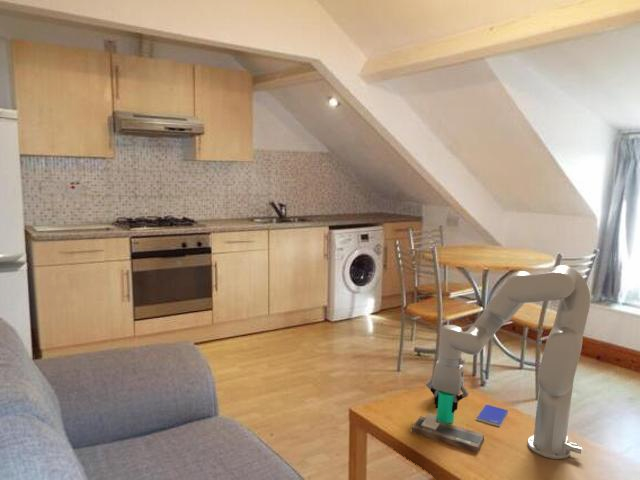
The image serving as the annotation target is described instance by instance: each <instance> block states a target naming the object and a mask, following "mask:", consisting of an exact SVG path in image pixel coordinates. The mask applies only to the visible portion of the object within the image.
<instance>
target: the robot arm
mask: <svg viewBox="0 0 640 480" xmlns="http://www.w3.org/2000/svg"><path fill="white" fill-rule="evenodd" d="M549 301H559V302H558V305H557V310H556V314H555V319H554V322H553V326H552V328H551V330H550V332H549V334H548V336H547V339H546V342H545V346H544V348H543V353H542V356H541V360H540V361H541V362H540V364H539V365H540V366H539V369H538V373H537V383H538V385H539V386H538V393H537V394H538V395H537V403H536V411H535V421H534V429H533V435H531V436H530V437H529V438H527V446H528V448H529V449H530V450H531V451H533V452H534V453H535V454H538V455H539V456H541V457H545V458H548V459H552V460H564V459H567V458H569V457H570V455H571V452H572V453H575V454H579V455H581V453H582V447H580V446H578V443H577V442H571V441H570V440H569V436H568V428H569V421H570V411H571V404H572V395H573V389H574V381H575V376H576V371H577V368H578V364H579V360H580V356H581V354H582V350H583V349H582V347H583V337H584V333H585V329H586V324H587V319H588V316H589V311H590V307H591V294H590V287H589V286H588V283H587V281H586V279H585V278H584V277H583V276H582V274H581V273H580V272H578V270H576V269H575V268H573V267H572V266H569V265H566V264H564V265H563V264H560V265H559V264H558V265H556V266H554V267H552V268H551V269H550V270H549V271H548V272H543V273H542V272H541V273H536V274H531V273H530V272H528V271H525V270H519V271H516V272H513V273H512V274H511V275H510V276H509V277H508V278H507V280H506V282H504V284H503V285H502V286H501V287H500V289H498V290H497V292H496V293H495V294H494V295H493V296H492V298H491V299H490V300H489V301H488V303H487V304H486V307H485V309H484V310H483V312H481V314H480V315H479V317H478V318H477V319H476V320H475V321H474V323H473V324H472V325H471V326H470V327H469V328H468V329H467V330H466V331H464V330H463V329H462V327H460V326H458V325H455V324H445V325H443V326H441V329H440V336H439V346H438V347H439V348H438V359H437V361H436V363H435V366H434V371H433V375H432V376H433V377H432V378H431V380H430V381H428V382H427V383H426V387H427V388H428V390H430V392H431V393H432V395H433V398H434V403H433V404H434V405H435V407H434V408H435V409H437V408H438V394H439V391H443V392H446V393H450V394H452V395H454V396H453V399H454V402H453V405H452V413H454V414H455V412H456V411H458V408H459V407H458V406H459V405H458V404H459V402H460V401H461V400H463V399H465V398H467V397H468V396H469V391H467V389H466V388H465V386H464V366H463V365H465V363H466V360H463V359H462V353H465V354H467V355H471V356H475V355H478V354H479V353H481V351H482V350H483V348H484V347H485V346H486V345H487V343H488V342H489V341H490V340H491V339H492V338H493V336H494V335H495V334H496V333H497V332H498V331H499V330H500V328H501V327H503V325H504V324H506V323H508V322H509V321H510V320H511V319H512V318H513V317H515V314H516V313H517V312H519V310H520V309H521V308H522V307H523V306H524V304H528V303H529V304H531V303H539V302H540V303H542V302H549Z"/></svg>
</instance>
